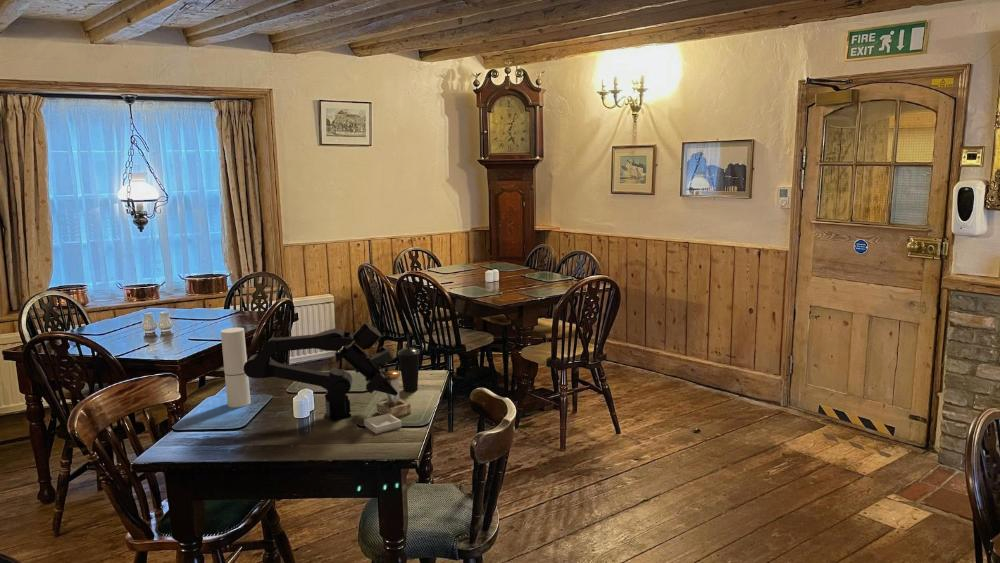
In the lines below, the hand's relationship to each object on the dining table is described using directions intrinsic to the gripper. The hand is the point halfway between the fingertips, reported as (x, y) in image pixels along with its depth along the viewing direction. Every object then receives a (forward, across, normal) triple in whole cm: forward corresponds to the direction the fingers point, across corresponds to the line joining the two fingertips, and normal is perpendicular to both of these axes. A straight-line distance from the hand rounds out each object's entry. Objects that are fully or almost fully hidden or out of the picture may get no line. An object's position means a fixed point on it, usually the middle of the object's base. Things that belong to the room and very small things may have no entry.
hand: (397, 392), depth 222 cm
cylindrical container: (-32, +18, +42) cm, 56 cm away
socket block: (+4, 0, +6) cm, 7 cm away
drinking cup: (+7, +22, +2) cm, 23 cm away
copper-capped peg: (+4, 0, +6) cm, 7 cm away
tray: (+2, -11, +8) cm, 14 cm away
